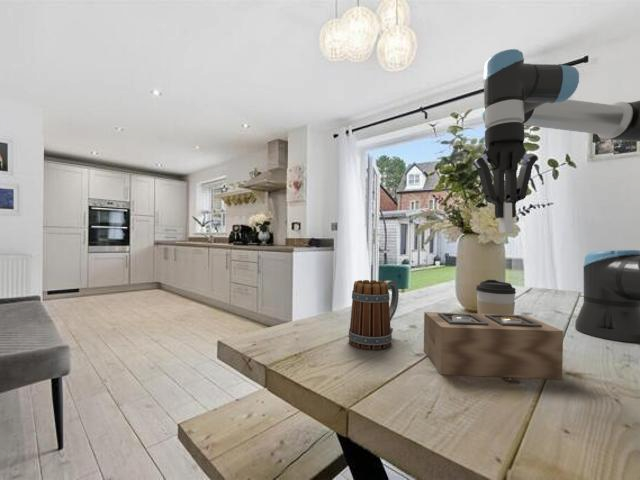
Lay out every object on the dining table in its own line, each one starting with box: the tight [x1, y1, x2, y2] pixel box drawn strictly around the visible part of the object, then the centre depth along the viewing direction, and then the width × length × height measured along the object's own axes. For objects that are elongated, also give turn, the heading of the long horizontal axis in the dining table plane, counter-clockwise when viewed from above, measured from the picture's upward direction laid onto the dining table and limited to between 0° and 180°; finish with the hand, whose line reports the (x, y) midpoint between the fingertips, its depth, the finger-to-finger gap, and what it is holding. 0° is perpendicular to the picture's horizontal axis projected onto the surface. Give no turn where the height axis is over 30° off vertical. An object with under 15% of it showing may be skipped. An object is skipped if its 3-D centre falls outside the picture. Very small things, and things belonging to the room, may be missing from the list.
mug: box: [348, 279, 400, 351], centre depth 77 cm, size 16×11×15 cm
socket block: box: [423, 311, 564, 380], centre depth 64 cm, size 22×12×9 cm, turn 86°
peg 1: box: [452, 315, 471, 322], centre depth 64 cm, size 4×4×8 cm
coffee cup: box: [475, 279, 517, 315], centre depth 80 cm, size 9×9×15 cm
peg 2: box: [501, 317, 522, 323], centre depth 63 cm, size 4×4×8 cm
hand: (505, 232), depth 68 cm, fingers closed
